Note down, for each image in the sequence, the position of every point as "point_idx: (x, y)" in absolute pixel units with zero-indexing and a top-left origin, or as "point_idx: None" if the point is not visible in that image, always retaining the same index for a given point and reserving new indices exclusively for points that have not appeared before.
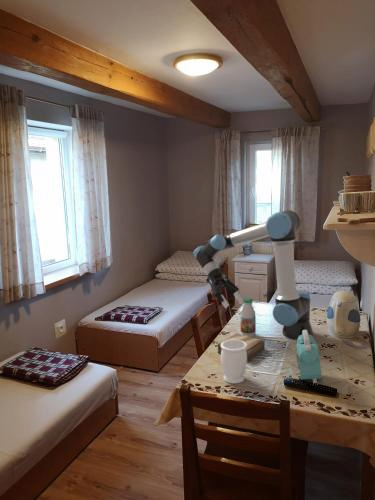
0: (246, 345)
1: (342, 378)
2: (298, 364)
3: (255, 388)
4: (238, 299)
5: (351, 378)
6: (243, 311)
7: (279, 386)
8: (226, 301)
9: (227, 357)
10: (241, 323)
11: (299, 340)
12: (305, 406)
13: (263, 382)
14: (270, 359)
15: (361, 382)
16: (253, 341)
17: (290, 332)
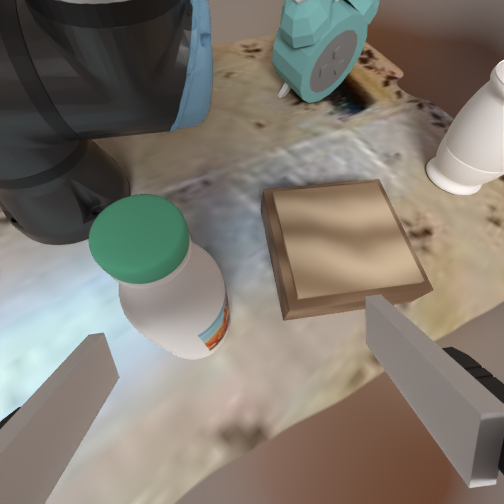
0: (500, 62)
1: (260, 63)
2: (344, 60)
3: (429, 131)
4: (87, 405)
5: (248, 56)
6: (212, 284)
7: (380, 110)
8: (399, 320)
9: None
10: (224, 321)
11: (330, 9)
12: (388, 69)
13: (398, 132)
14: (301, 170)
15: (250, 46)
16: (307, 203)
17: (117, 182)
